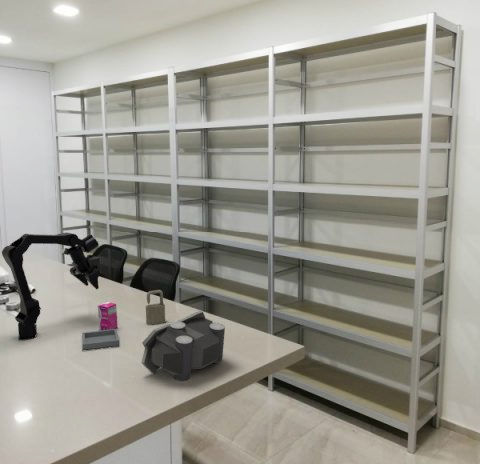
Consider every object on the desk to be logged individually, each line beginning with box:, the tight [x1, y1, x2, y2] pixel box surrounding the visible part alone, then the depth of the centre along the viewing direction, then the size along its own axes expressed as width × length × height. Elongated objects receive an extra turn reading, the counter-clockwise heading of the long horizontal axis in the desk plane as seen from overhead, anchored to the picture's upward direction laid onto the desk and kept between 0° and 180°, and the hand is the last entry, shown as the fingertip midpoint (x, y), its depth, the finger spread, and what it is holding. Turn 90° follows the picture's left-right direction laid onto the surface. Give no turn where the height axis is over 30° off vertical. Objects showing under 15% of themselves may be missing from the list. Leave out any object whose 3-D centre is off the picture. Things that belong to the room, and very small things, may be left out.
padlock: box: [145, 289, 166, 326], centre depth 228 cm, size 4×8×15 cm, turn 116°
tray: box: [81, 328, 120, 351], centre depth 206 cm, size 14×14×3 cm
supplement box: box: [97, 301, 119, 331], centre depth 220 cm, size 6×6×12 cm
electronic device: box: [141, 309, 226, 382], centre depth 180 cm, size 18×21×30 cm
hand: (92, 287), depth 233 cm, fingers open, 9 cm apart
